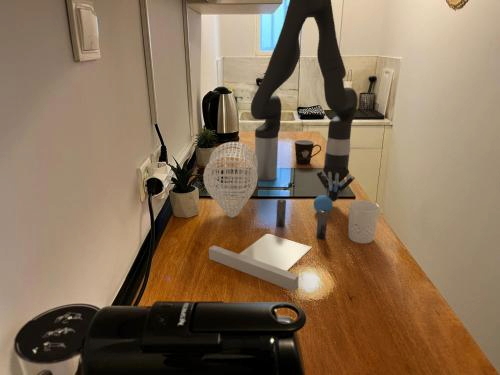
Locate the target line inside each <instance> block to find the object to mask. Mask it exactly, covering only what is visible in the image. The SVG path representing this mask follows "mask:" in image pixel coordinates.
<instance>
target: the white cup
mask: <svg viewBox="0 0 500 375" xmlns="http://www.w3.org/2000/svg"><path fill="white" fill-rule="evenodd" d="M380 208H381V207H380V206H379V205H378V204H377V203H376V202H373V201H369V200H362V199H361V200H359V199H358V200H354V201H351V202H350V203H349V209H348V210H349V212H348V235H347V237H348V239H349V240H350V241H352V242H353V243H357V244H362V245H363V244H364V245H365V244H371V243H372V242H373V240H374V238H375V237H374V236H375V232H376V228H377V224H378V218H379V212H380Z"/></svg>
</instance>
